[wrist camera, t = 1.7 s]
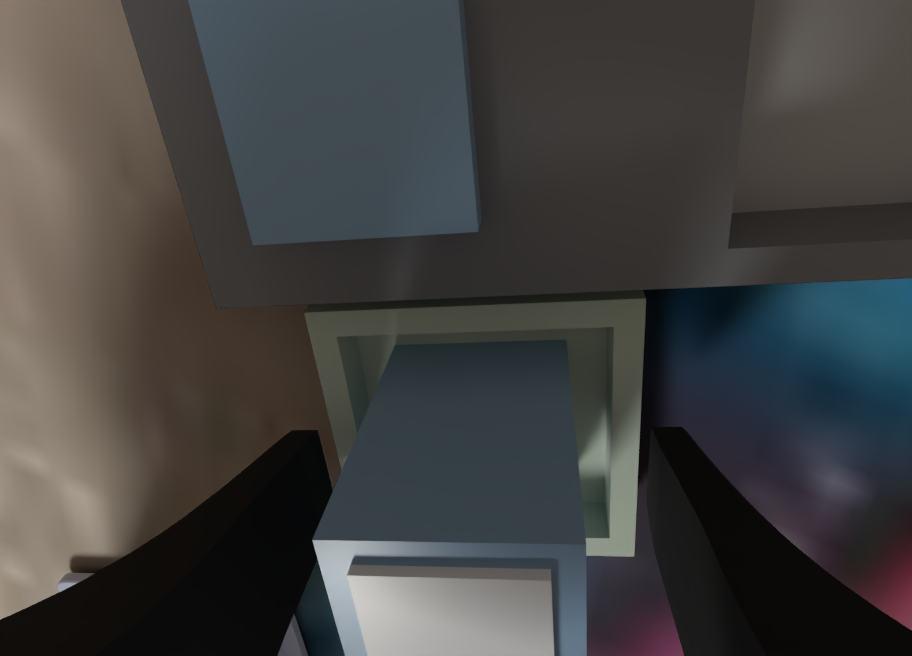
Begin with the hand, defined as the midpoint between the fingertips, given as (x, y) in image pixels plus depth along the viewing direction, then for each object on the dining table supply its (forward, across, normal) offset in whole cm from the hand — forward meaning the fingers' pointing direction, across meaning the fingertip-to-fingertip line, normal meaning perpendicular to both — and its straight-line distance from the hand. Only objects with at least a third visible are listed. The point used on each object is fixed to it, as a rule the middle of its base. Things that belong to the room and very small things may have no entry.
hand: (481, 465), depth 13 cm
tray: (+3, 0, 0) cm, 3 cm away
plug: (+2, 0, 0) cm, 2 cm away
